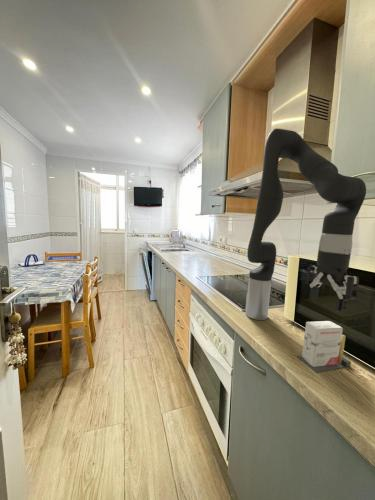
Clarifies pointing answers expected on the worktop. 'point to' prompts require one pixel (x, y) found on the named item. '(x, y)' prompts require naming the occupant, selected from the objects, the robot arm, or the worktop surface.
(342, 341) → the pin header
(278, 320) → the worktop surface
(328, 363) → the ink box
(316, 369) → the rubber pad
